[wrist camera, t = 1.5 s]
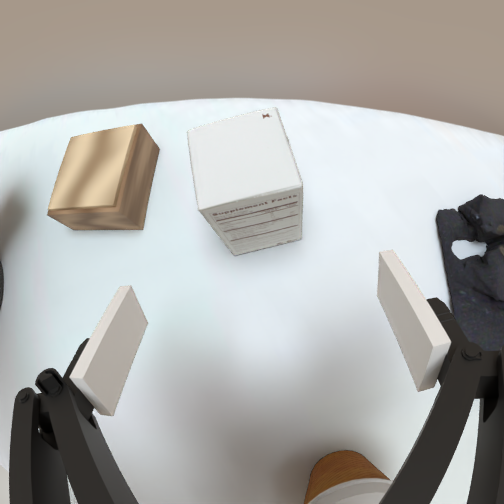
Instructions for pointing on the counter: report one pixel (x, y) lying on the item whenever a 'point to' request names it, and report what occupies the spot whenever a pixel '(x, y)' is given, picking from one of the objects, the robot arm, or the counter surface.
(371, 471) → the disposable coffee cup
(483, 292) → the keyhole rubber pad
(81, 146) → the pedestal
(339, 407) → the counter surface
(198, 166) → the supplement box
